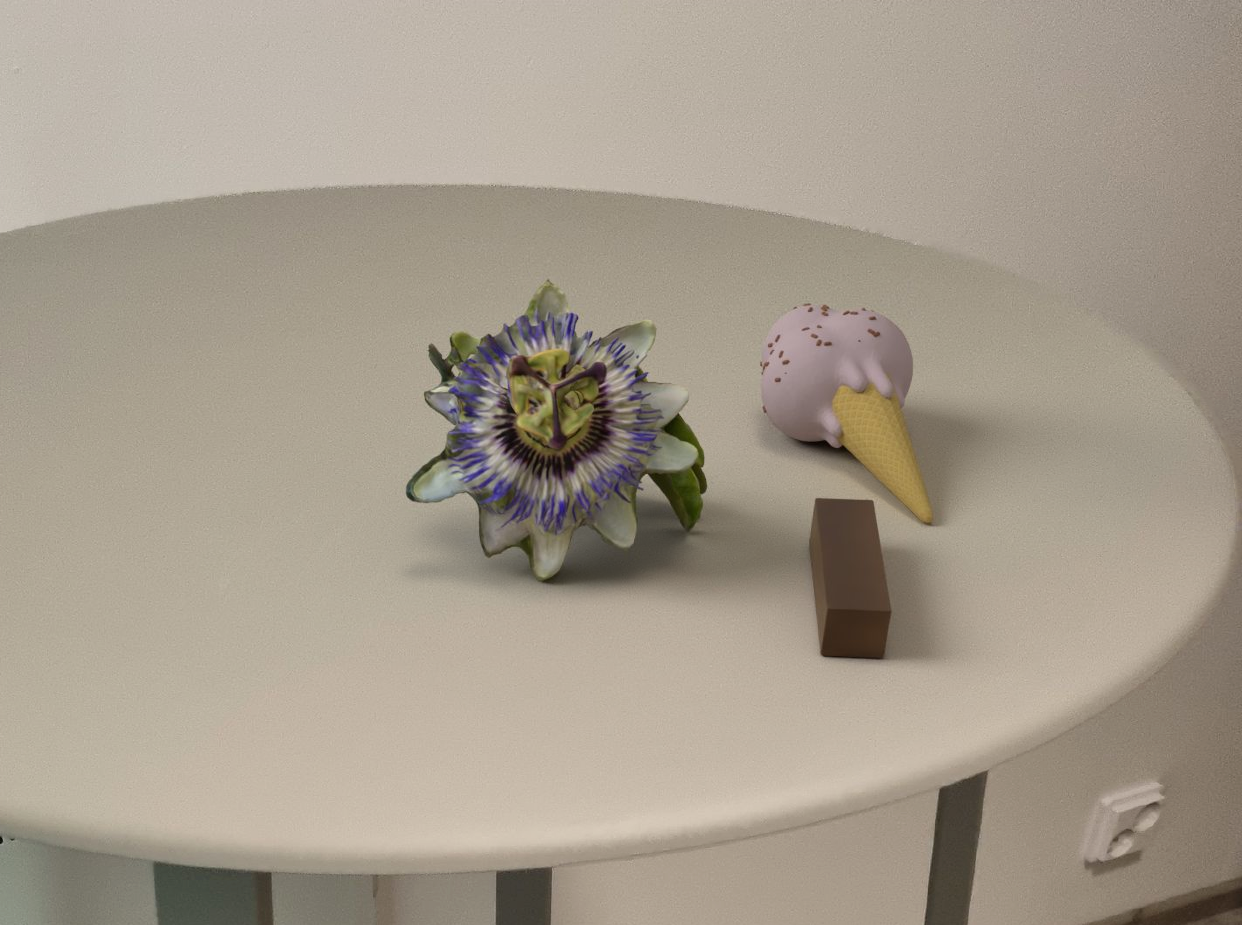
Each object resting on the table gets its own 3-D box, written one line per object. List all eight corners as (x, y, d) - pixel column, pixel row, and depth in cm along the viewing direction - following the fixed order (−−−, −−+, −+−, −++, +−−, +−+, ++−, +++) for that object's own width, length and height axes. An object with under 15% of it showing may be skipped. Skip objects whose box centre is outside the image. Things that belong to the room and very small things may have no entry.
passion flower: (543, 690, 82) (388, 504, 74) (499, 539, 89) (352, 352, 80) (776, 547, 78) (640, 333, 69) (711, 400, 85) (580, 187, 76)
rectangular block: (866, 545, 80) (873, 499, 79) (883, 659, 73) (891, 610, 71) (809, 542, 80) (815, 497, 79) (820, 656, 73) (827, 608, 72)
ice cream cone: (994, 436, 78) (863, 239, 87) (832, 514, 80) (719, 312, 88) (1011, 536, 83) (885, 339, 92) (858, 607, 85) (747, 407, 93)
